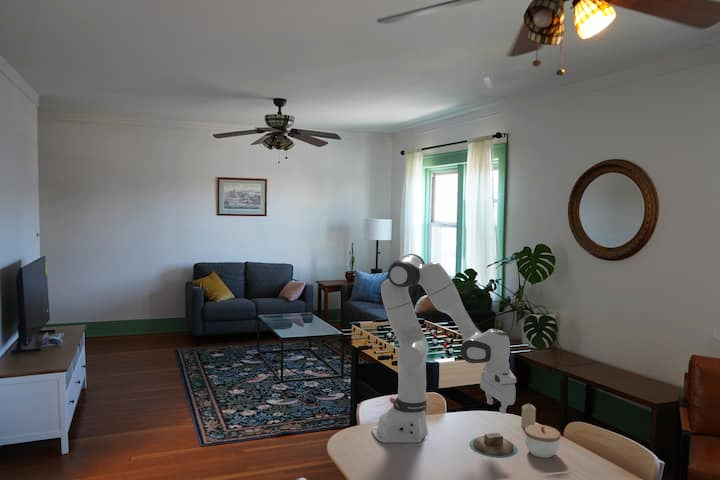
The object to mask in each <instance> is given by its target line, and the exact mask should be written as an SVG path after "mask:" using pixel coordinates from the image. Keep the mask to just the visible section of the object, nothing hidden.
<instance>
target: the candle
mask: <svg viewBox="0 0 720 480" xmlns="http://www.w3.org/2000/svg"><path fill="white" fill-rule="evenodd" d="M536 411H537V408H536V407H535V406H534V405H533V404H531V403H525V404H524V405H522V406H521V422H520V426H521V428H523V429H525V428H526V427H527V426H529V425H536V414H537V413H536Z"/></svg>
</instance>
